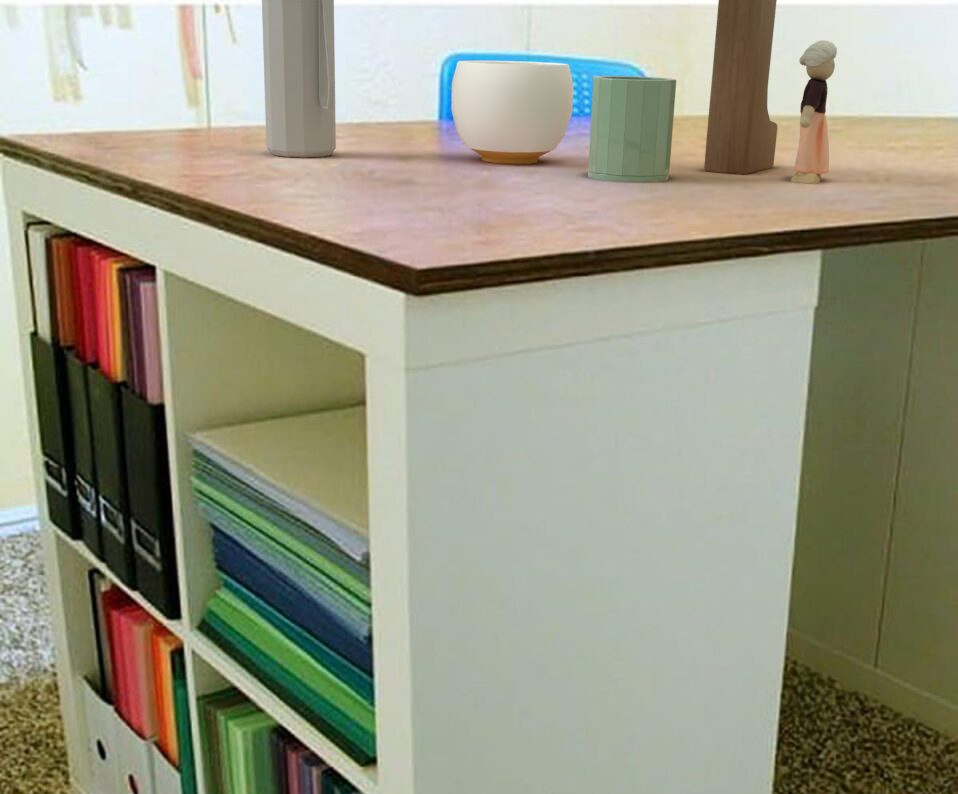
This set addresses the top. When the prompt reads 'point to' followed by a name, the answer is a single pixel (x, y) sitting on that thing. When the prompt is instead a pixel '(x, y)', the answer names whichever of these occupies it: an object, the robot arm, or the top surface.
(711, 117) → the wooden block
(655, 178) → the green cup
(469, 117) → the cup
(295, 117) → the water bottle
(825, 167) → the grandmother figurine
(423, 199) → the top surface
